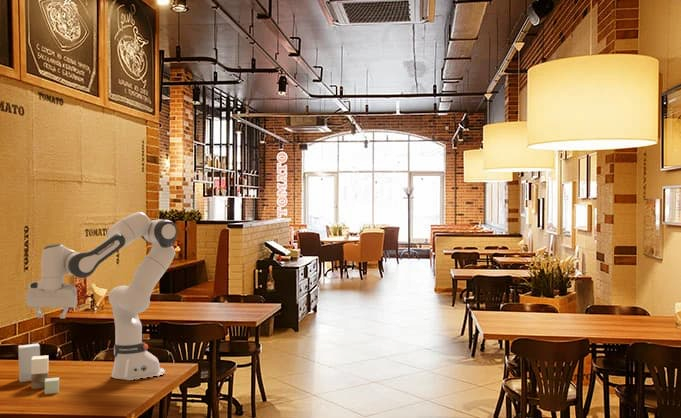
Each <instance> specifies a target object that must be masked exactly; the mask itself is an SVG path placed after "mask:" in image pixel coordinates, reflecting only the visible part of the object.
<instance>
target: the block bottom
mask: <svg viewBox="0 0 681 418" xmlns="http://www.w3.org/2000/svg"><path fill="white" fill-rule="evenodd" d="M46 378H49V372H48V373H43V374H31V381H30V383H31V385H30V388H31V390H37V389H45V379H46Z"/></svg>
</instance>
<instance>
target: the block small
mask: <svg viewBox="0 0 681 418" xmlns="http://www.w3.org/2000/svg"><path fill="white" fill-rule="evenodd" d="M59 392H60V377H59V376H58V377H48V378H46V379H45V388H44V395H48V394H50V395H51V394H58V393H59Z"/></svg>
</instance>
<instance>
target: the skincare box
mask: <svg viewBox="0 0 681 418" xmlns="http://www.w3.org/2000/svg"><path fill="white" fill-rule="evenodd" d="M17 350H18V377H19V378H18V379H19V383H26V382H31V359H32V357H33V356H41V346H40V344H39V343H38V342H37V343H31V344H23V345H18V349H17Z"/></svg>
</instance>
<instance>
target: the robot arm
mask: <svg viewBox="0 0 681 418" xmlns="http://www.w3.org/2000/svg"><path fill="white" fill-rule="evenodd" d="M177 237H178V227H177V224H175V223H174V222H173V221H172V220H169V219H153V220H151V219H150V218H149V216H148V215H147V214H146V213H144V212H142V211H137V212H134V213H132V214H129V215H126V216H125V217H123V218H121V219H120V220H117V222H114V224H112V225H111V226H110V227H109V228H108V229H107V231H106V239H105V240H104V241H103V242H101V243H100V244H99V245H98V246H96V247H94V248H93V249H91V250H89V251H86V252H79V251H75V250H73V249H70V248H68V247H67V246H65V245H64V244H62V243H57V244H56V243H54V244H49V245H46V246H44V247H43V248H42V251H41V259H40V261H41V262H40V268H41V274H40V279H39V280H35V281H33V282H29V283H28V284H27V288H28V290H27V291H26V297H25V304H26V306H27V307H34V310H35V312H36V313H37V315H36V316H37V319H40V318H41V319H42V318H43V317H44V312H42V311H41V309H42V308H62V310H63V311H62V313H59V319H66V314H67V312H68V311H69V308H75V307H76V306H77V305H78V297H77V296H78V294H77V293H78V287H77V286H76V285H74V284H67V283H66V284H65V274H68V275H71V276H75V277H76V278H80V279H81V278H82V279H83V278H84V279H85V278H89V277H90V276H91V275H93V273H94V272H95V271H96V269H98V266H100V264H102V263H103V262H104V261H105V260H107V259H108V258H110V257H111V256H113V255H114V254H115V253H117V252H118V251H119V250H121V249H123V248H124V247H126V246H129V245H130V244H131V243H133V242H135V241H136V240H138V239H139V238H141V239H142V240H143V241H145V242H146V243H149V244H151V245H152V246H151V249H150V251H149V252H148V253H147V255H146V256H145V257H144V259H143V260H142V261H141V262H140V263H139V265H138V267H136V269H135V270H134V276H133V278H132V280H131V282H130V284H129V285H118V286H115V287H114V288H112V289H111V290H110V292H109V294H108V302H109V303H110V307H111V311H112V316H113V320H114V321H113V322H114V328H115V329H114V330H115V331H114V333H115V334H114V335H115V343H114V346H113V355H114V356H113V357H114V362H113V368H112V372H111V376H110V377H111V378H113V379H117V380H124V381H133V380H134V379H135V380H141V379H140V378H143V379H148V378H147V377H150V378H154V377H153V376H157V377H161V376H160V375H163V374H164V373H166V370H165V369H164V368H163V367H160V362H159V359H158V357H156V356H155V355H153V354H152V353H151V352H150V351H148V348H149V345H148V344H147V343H145V342H143V340H142V339H143V338H142V337H143V335H142V334H143V333H142V332H143V331H142V330H143V325H142V322H141V320H140V317H139V314H140V313H143V312H145V311H146V310H148V308H149V307H150V304H151V300H150V299H151V296H152V293H153V291H154V289H155V287H156V285H157V284H158V283H159V281H160V279H161V278H162V277H163V275H164V274H165V273H166V272H167V270H168V268H169V267H170V265H171V264H172V262H173V260H174V258H175V257H176V250H175V247H174V246H173V245H175V244H176V239H177ZM164 375H165V374H164ZM164 375H163V376H164Z"/></svg>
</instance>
